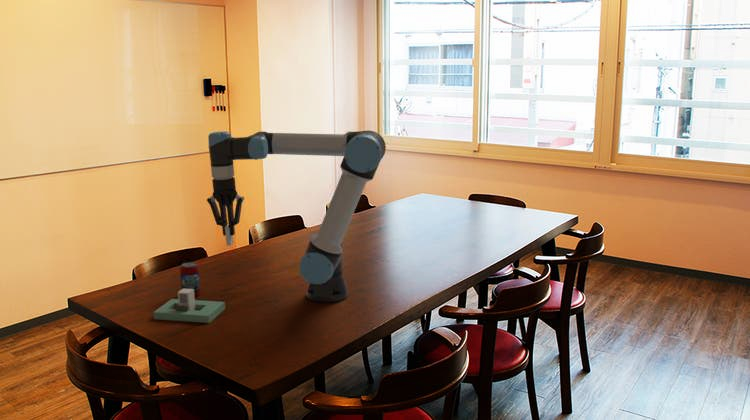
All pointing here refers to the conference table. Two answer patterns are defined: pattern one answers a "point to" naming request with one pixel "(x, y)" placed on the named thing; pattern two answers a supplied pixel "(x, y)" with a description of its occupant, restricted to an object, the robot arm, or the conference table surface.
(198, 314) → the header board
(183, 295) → the plug
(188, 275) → the beverage can
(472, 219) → the conference table surface
